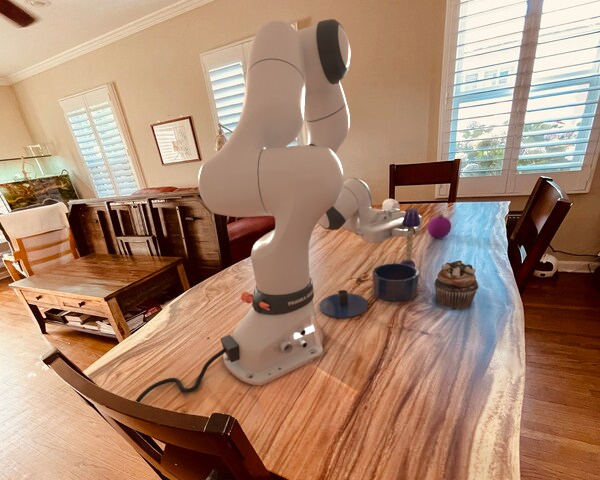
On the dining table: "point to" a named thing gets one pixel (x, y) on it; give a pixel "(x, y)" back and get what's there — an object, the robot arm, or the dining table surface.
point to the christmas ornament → (439, 226)
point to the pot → (395, 282)
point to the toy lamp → (411, 221)
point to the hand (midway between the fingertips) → (413, 232)
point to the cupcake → (456, 285)
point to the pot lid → (343, 305)
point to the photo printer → (390, 204)
